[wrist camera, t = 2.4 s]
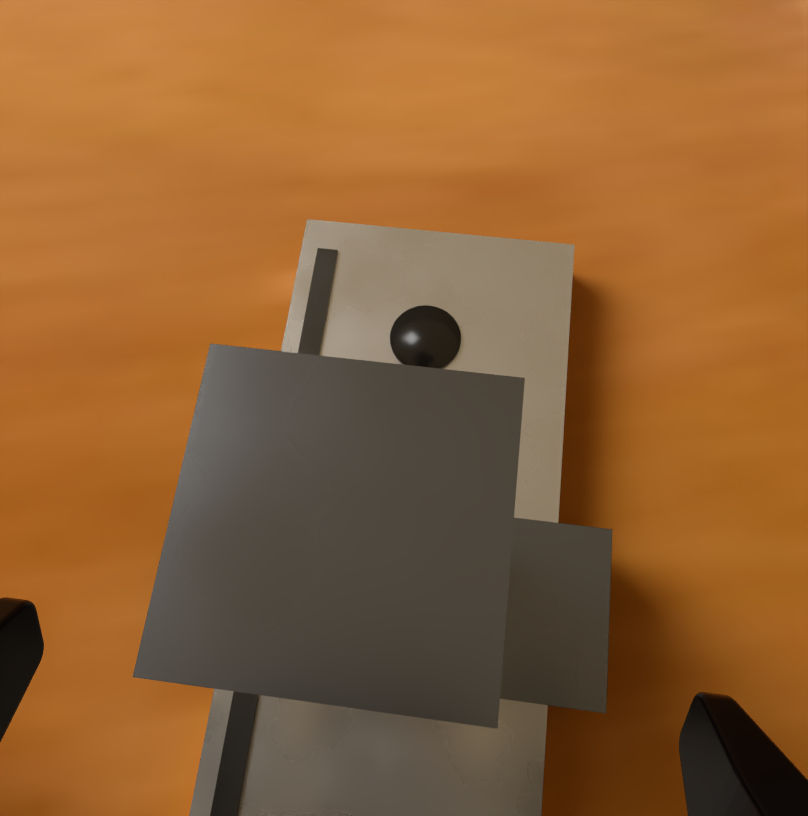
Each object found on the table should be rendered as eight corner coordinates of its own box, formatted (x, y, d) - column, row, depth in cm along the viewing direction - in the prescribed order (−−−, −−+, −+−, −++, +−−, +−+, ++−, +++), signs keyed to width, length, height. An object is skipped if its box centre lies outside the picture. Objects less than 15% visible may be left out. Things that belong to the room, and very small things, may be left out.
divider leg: (589, 705, 17) (931, 845, 6) (184, 649, 18) (-257, 671, 6) (596, 541, 18) (887, 378, 7) (217, 494, 19) (-100, 274, 7)
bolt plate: (512, 1108, 15) (547, 1290, 11) (161, 1045, 16) (64, 1196, 12) (564, 270, 22) (599, 180, 18) (314, 246, 22) (288, 153, 18)
